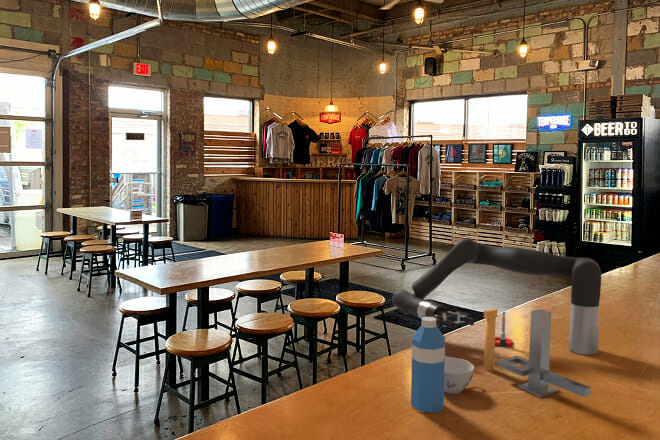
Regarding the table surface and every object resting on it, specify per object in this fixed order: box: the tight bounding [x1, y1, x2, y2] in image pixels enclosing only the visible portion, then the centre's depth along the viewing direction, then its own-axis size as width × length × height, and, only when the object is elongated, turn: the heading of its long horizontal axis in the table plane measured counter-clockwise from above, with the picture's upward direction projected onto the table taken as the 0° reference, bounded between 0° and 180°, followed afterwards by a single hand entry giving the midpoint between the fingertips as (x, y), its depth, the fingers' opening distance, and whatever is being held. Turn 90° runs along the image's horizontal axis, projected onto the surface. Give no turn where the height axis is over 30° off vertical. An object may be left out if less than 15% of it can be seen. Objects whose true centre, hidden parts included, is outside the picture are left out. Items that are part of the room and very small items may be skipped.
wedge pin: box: [483, 308, 498, 372], centre depth 180 cm, size 4×3×20 cm
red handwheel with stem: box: [495, 311, 513, 348], centre depth 207 cm, size 8×13×9 cm
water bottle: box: [410, 317, 446, 414], centre depth 153 cm, size 9×9×25 cm
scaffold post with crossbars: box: [496, 308, 592, 398], centre depth 162 cm, size 28×9×24 cm, turn 31°
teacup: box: [444, 356, 475, 395], centre depth 166 cm, size 15×12×8 cm
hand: (464, 324), depth 189 cm, fingers open, 8 cm apart
